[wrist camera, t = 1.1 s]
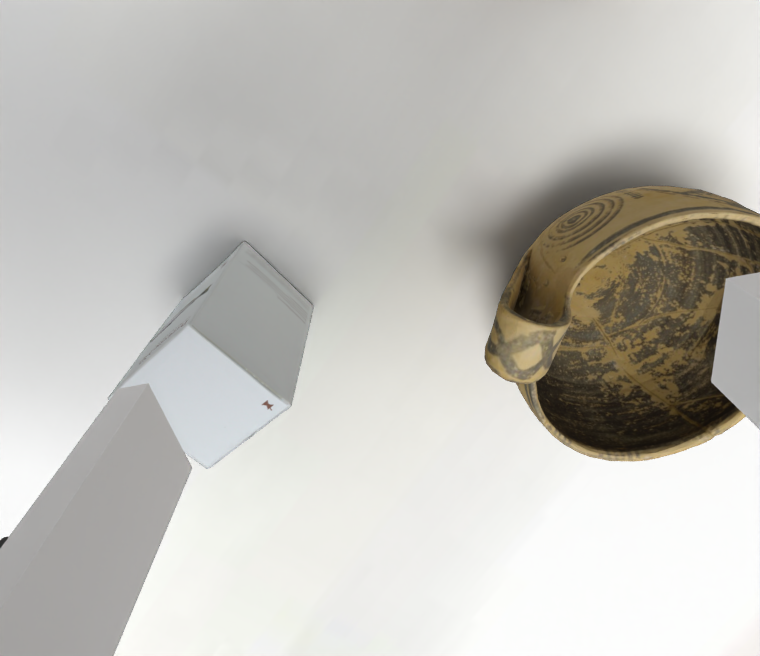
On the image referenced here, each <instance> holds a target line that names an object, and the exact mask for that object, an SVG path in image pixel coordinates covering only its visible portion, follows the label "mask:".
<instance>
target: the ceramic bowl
mask: <svg viewBox="0 0 760 656" xmlns="http://www.w3.org/2000/svg"><path fill="white" fill-rule="evenodd" d="M758 272H760V214H758V213H756V212H754V211H752V210H750V209H748V208H746V207H744V206H742V205H740V204H739V203H737V202H735V201H733V200H730V199H727V198H724V197H721V196H718V195H715V194H712V193H709V192H705V191H702V190H697V189H688V188H679V187H671V186H643V187H635V188H627V189H622V190H618V191H614V192H611V193H608V194H604V195H601V196H599V197H596V198H594V199H592V200H589V201H587V202H585V203H583V204H581V205H579V206H577V207H575V208H574V209H572V210H570V211H569V212H567V213H565V214H564V215H562V216H561V217H559V218H558V219H557V220H555V221H554V222H553V223H551V224H550V225H549V226H548V227H547V228H546V229H545V230H544V231H543V232H542V233H541V234H540V236H539V237H538V238H537V239H536V240H535V242H534V243H533V244H532V245H531V246H530V248H529V249H528V250H527V251H526V252H525V254H524V255H523V257H522V259H521V260H520V262H519V265H518V267H517V268H516V269H515V271H514V273H513V276H512V278H511V280H510V281H509V283H508V285H507V287H506V289H505V291H504V292H503V294H502V297H501V300H500V302H499V304H498V309H497V313H496V317H495V320H494V324H493V327H492V330H491V333H490V335H489V338H488V341H487V344H486V346H485V360H486V364H487V365H488V366H489V367H490V369H491V370H492V371H493V372H494V373H496V374H497V375H499V376H500V377H502V378H503V379H505V380H507V381H510V382H514V383H516V384H517V386H518V388H519V390H520V392H521V394H522V396H523V397H524V399H525V401H526V402H527V404H528V406H529V407H530V409H531V410H532V412H533V413H534V414H535V416H536V417H537V418H538V420H539V421H540V422H541V423H542V424H543V425H544V426H545V428H546V429H547V430H548V431H549V432H550V433H551V434H552V435H553V436H554V437H555V438H556V439H558V440H559V441H560V442H562V443H563V444H564V445H566V446H568V447H570V448H571V449H573V450H575V451H577V452H579V453H581V454H584V455H587V456H589V457H593V458H598V459H604V460H609V461H642V460H650V459H655V458H659V457H663V456H667V455H671V454H675V453H678V452H681V451H684V450H687V449H689V448H691V447H695V446H698V445H700V444H702V443H705V442H707V441H709V440H711V439H712V438H713V437H714V436H716V435H719V434H722V433H723V432H725V431H726V430H728V429H729V428H731V427H733V426H734V425H736V424H737V423H738V422H739V421H741V420H742V419H743V418H744V417H746V416H745V415H744V414H743V413H742V412H741V411H740V410H739V409H738V408H737V407H736V406H735V405H734V404H733V403H732V402H731V401H730V400H729V399H728V398H727V397H726V396H725V395H724V394H723V393H722V392H721V391H720V390H719V389H718V388H717V387H716V386H715V385H714V384H713V383H712V382H711V377H712V370H713V364H714V357H715V350H716V343H717V336H718V330H719V323H720V316H721V309H722V302H723V296H724V289H725V282H726V278H731V277H736V276H742V275H747V274H753V273H758Z"/></svg>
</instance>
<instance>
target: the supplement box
mask: <svg viewBox="0 0 760 656" xmlns="http://www.w3.org/2000/svg"><path fill="white" fill-rule="evenodd" d="M313 309H314V306H313V305H312V304H311V303H310V302H309V301H308V300H307V299H306V298H305V297H304V296H303V295H302V294H300V293H299V292H298V291H297V290H296V289H295V288H294V287H293V286H292V285H291V284H290V283H289V282H288V281H287V280H286V279H285V278H284V277H283V276H282V275H281V274H280V273H278V272H277V271H276V270H275V269H274V268H273V267H272V266H271V265H270V264H269V263H268V262H267V261H266V260H265V259H264V258H263V257H262V256H260V255H259V254H258V253H257V252H256V251H255V250H254V249H253V248H252V247H251V246H250V245H249V244H247V243H246V242H242V243H241V244H240V245H239V246H238V247H237V248H236V249H235V250H234V251H233V253H232V254H231V255H230V256H229V257H228V258H227V259H226V260H225V261H224V262H223V263H222V264H220V265H219V266H218V267H217V268H216V269H215V270H214V271H213V272H212V273H211V274H210V275H209V276H208V277H207V278H205V279H204V280H203V281H202V282H201V283H200V284H199V285H198V286H197V287H196V288H195V289H194V290H192V291H191V292H190V293H189V294H188V295H187V296H185V297H184V298H183V299H182V300H181V301H180V303H179V304H178V305H177V307H176V308H175V309H174V311H173V312H172V313H171V314H170V316H169V317H168V318H167V320H166V321H165V322H164V324H163V325H162V326H161V327H160V329H159V330H158V331H157V333H156V334H155V335H154V337H153V338H152V339H151V341H150V342H149V343H148V345H147V346H146V347H145V349H144V350H143V351H142V353H141V354H140V355H139V357H138V358H137V360H136V361H135V362H134V364H133V365H132V366H131V368H130V369H129V370H128V372H127V373H126V374H125V376H124V377H123V378H122V380H121V381H120V382H119V384H118V385H117V386H116V388H115V389H114V390H113V392H112V393H111V394H110V396H109V397H108V400H110V399H111V397H112V396H113V395H114V393H115V392H116V391H117V389H119V388H125V387H130V386H136V385H141V384H147V383H149V385H150V387H151V389H152V391H153V393H154V395H155V397H156V399H157V401H158V403H159V405H160V407H161V408H162V410H163V412H164V414H165V416H166V418H167V420H168V422H169V424H170V426H171V428H172V430H173V432H174V434H175V436H176V437H177V439H178V441H179V443H180V445H181V447H182V449H183V451H184V453H185V454H187V455H188V456H190V457H191V458H192V459H194V460H195V461H196V462H198V463H199V464H201V465H202V466H203V467H205V468H206V469H208V468H211V467H212V466H214V465H215V464H216V463H218V462H219V461H220V460H222V459H223V458H224V457H225V456H227V455H228V454H229V453H231V452H232V451H233V450H235V449H236V448H237V447H238V446H240V445H241V444H242V443H244V442H245V441H247V440H248V439H250V438H251V437H252V436H253V435H254V434H256V433H257V432H258V431H259V430H261V429H262V428H263V427H265V426H266V425H267V424H268V423H270V422H271V421H272V420H274V419H275V418H276V417H278V416H279V415H280V414H282V413H283V412H284V411H286V410H287V409H289V408H290V407H291V405H292V401H293V397H294V392H295V388H296V383H297V379H298V375H299V370H300V366H301V361H302V357H303V353H304V348H305V344H306V339H307V335H308V330H309V326H310V322H311V317H312V313H313Z"/></svg>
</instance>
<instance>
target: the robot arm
mask: <svg viewBox="0 0 760 656" xmlns="http://www.w3.org/2000/svg"><path fill="white" fill-rule="evenodd" d="M711 382H712V383H713V384H714V385H715V386H716V387H717V388H718V389H719V390H720V391H721V392H722V393H723V394H724V395H725V396H726V397H727V398H728V399H729V400H730V401H731V402H732V403H733V404H734V405H735V406H736V407H737V408H738V409H739V410H740V411H741V412H742V413H743V414H744V415H745V416H746V417H747V418H748V419H749V420H750V421H751V422H752V423H754V424H755V425H756V426H757V427H758V428H759V429H760V272H758V273H753V274H747V275H742V276H736V277H731V278H726V282H725V289H724V296H723V302H722V309H721V316H720V323H719V330H718V336H717V343H716V350H715V357H714V364H713V370H712V377H711ZM191 470H192V466H191V465H190V463H189V461H188V459H187V457H186V455H185V453H184V451H183V449H182V447H181V445H180V443H179V441H178V439H177V437H176V436H175V434H174V432H173V430H172V428H171V426H170V424H169V422H168V420H167V418H166V416H165V414H164V412H163V410H162V408H161V407H160V405H159V403H158V401H157V399H156V397H155V395H154V393H153V391H152V389H151V387H150V385H149V383H147V384H141V385H136V386H130V387H125V388H119V389H117V391H116V392H115V393H114V395H113V396H112V397H111V399H110V400H109V401H108V403H107V404H106V405H105V407H104V408H103V410H102V411H101V412H100V414H99V415H98V416H97V418H96V419H95V420H94V422H93V423H92V425H91V426H90V427H89V429H88V430H87V431H86V433H85V434H84V435H83V437H82V438H81V439H80V441H79V442H78V444H77V445H76V446H75V448H74V449H73V450H72V452H71V453H70V454H69V456H68V457H67V459H66V460H65V461H64V463H63V464H62V465H61V467H60V468H59V469H58V471H57V472H56V474H55V475H54V476H53V478H52V479H51V480H50V482H49V483H48V484H47V486H46V487H45V488H44V490H43V491H42V493H41V494H40V495H39V497H38V498H37V499H36V501H35V502H34V503H33V505H32V506H31V508H30V509H29V510H28V512H27V513H26V514H25V516H24V517H23V518H22V520H21V521H20V523H19V524H18V525H17V527H16V528H15V529H14V531H13V532H12V533H11V535H10V536H9V537H4V538H2V539H1V540H0V656H113V655H114V653H115V651H116V648H117V646H118V644H119V641H120V639H121V636H122V634H123V632H124V629H125V627H126V624H127V622H128V620H129V617H130V615H131V613H132V610H133V608H134V605H135V603H136V601H137V598H138V596H139V594H140V591H141V589H142V586H143V584H144V582H145V579H146V577H147V574H148V572H149V570H150V567H151V565H152V563H153V560H154V558H155V555H156V553H157V551H158V548H159V546H160V544H161V541H162V539H163V536H164V534H165V532H166V529H167V527H168V524H169V522H170V520H171V517H172V515H173V513H174V510H175V508H176V505H177V503H178V501H179V498H180V496H181V494H182V491H183V489H184V486H185V484H186V482H187V479H188V477H189V474H190V472H191Z"/></svg>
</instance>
